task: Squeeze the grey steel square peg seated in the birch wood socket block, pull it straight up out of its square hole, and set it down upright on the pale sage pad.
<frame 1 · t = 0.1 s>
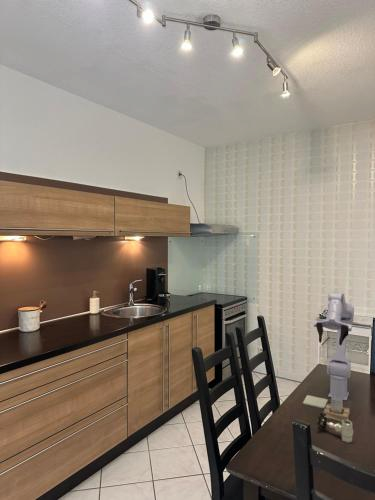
hand: (329, 342, 141), 32 cm above the table, tool tilted 50°, fingers open, 7 cm apart
socket block: (336, 415, 146), on the table
valve: (336, 436, 130), on the table
sage pad: (315, 402, 158), on the table
steel peg: (336, 407, 146), in the socket block
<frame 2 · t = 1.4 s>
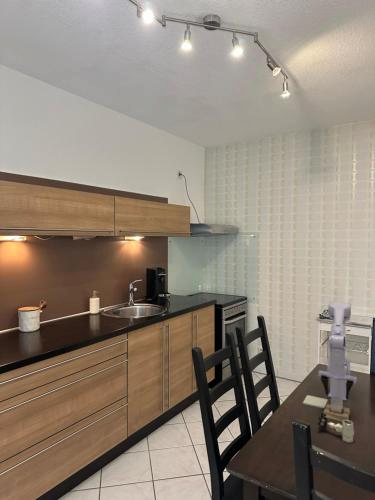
hand: (336, 396, 145), 8 cm above the table, tool pointing down, fingers open, 7 cm apart
nothing on the table moved.
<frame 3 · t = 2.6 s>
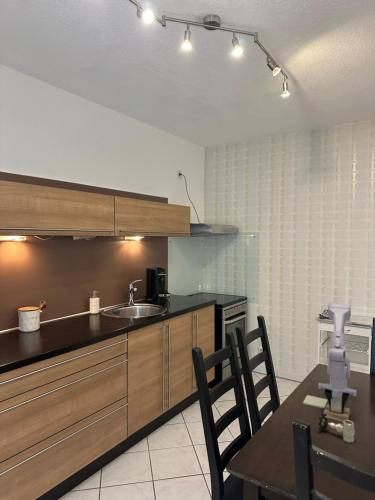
hand: (336, 409, 146), 3 cm above the table, tool pointing down, fingers closed on steel peg, 4 cm apart
steel peg: (336, 406, 146), in the socket block, touching gripper
everything else where it was.
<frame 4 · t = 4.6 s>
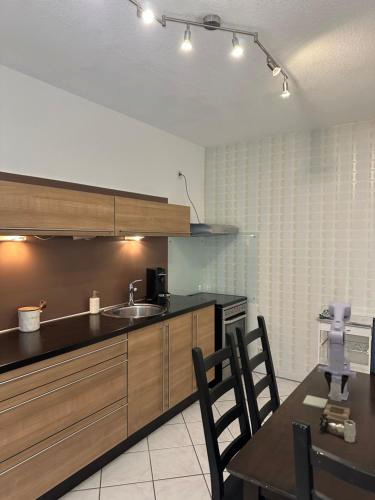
hand: (336, 391, 146), 10 cm above the table, tool pointing down, fingers closed on steel peg, 4 cm apart
steel peg: (336, 390, 146), point 10 cm above the table, touching gripper
everything else where it was.
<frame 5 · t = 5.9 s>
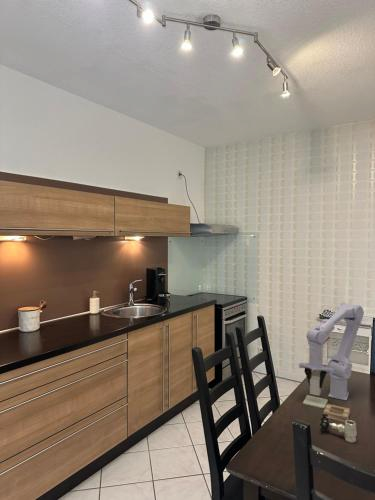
hand: (315, 386, 158), 7 cm above the table, tool pointing down, fingers closed on steel peg, 4 cm apart
steel peg: (315, 385, 157), point 8 cm above the table, touching gripper
when the fingers open (5 cm above the table, at t = 6.8 s): steel peg drops 1 cm, resting on sage pad.
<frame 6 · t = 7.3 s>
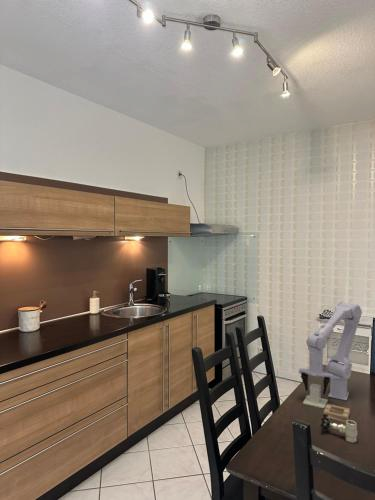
hand: (315, 391, 158), 5 cm above the table, tool pointing down, fingers open, 7 cm apart
steel peg: (315, 393, 157), on the sage pad, point 4 cm above the table
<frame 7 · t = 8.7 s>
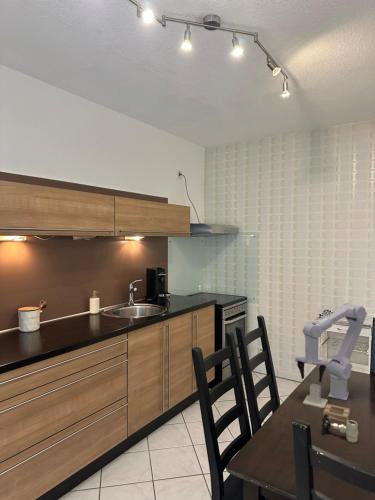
hand: (311, 380, 159), 9 cm above the table, tool pointing down, fingers open, 7 cm apart
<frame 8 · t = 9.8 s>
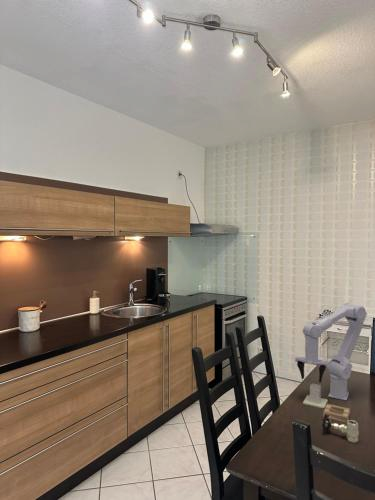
hand: (311, 380, 159), 9 cm above the table, tool pointing down, fingers open, 7 cm apart
at the end: steel peg 0.2 cm off-centre on the sage pad, point 4.1 cm above the sage pad's base; steel peg tilted 0°; the gripper is holding nothing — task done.
